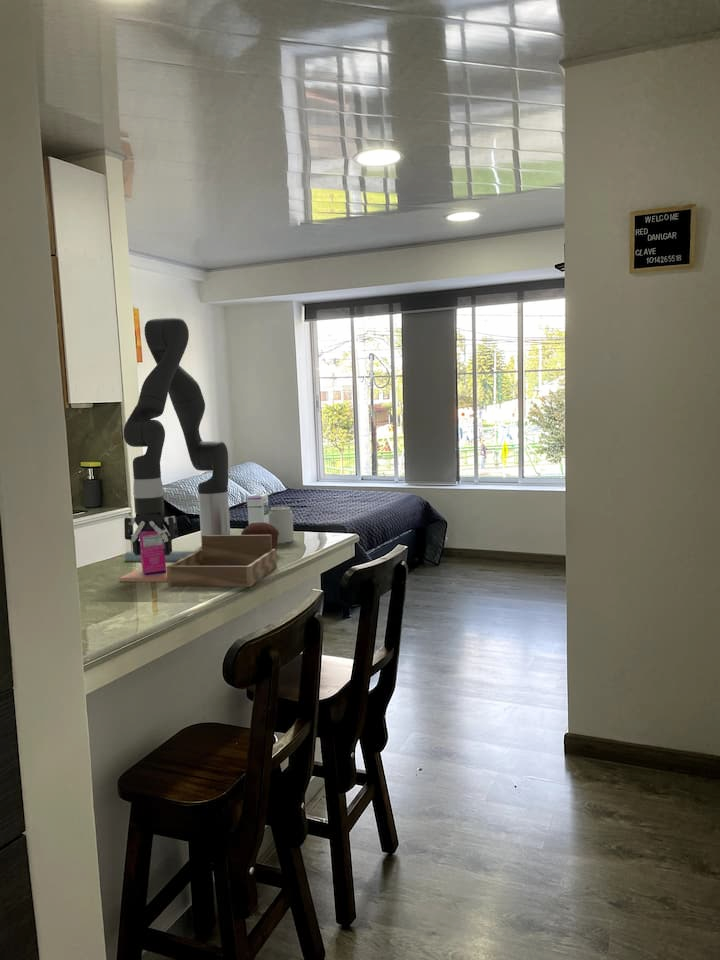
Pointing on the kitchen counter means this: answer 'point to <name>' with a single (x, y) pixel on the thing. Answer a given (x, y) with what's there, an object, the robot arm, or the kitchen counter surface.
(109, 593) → the kitchen counter surface
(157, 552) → the supplement box
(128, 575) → the terracotta tile
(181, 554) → the aluminum foil
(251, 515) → the syrup box
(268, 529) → the muffin
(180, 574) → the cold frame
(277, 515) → the can
